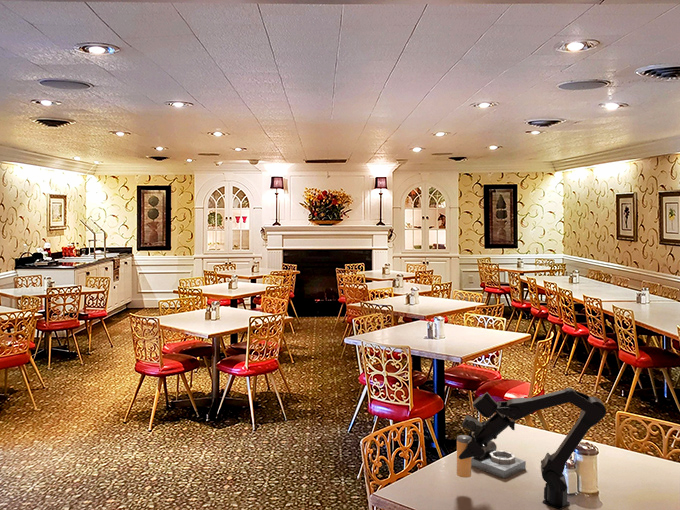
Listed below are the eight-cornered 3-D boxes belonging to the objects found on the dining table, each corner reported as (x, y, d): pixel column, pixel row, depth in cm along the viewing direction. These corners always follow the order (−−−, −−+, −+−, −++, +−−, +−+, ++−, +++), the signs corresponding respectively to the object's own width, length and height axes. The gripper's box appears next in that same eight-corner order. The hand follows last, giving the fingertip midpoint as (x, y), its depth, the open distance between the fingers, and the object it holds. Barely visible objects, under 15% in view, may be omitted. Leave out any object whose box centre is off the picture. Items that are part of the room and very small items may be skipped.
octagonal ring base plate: (525, 468, 219) (525, 450, 218) (504, 478, 210) (504, 459, 209) (490, 456, 231) (490, 439, 231) (468, 465, 222) (468, 447, 222)
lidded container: (474, 474, 199) (474, 438, 198) (465, 478, 196) (465, 441, 195) (462, 470, 203) (463, 434, 202) (453, 474, 199) (454, 437, 199)
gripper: (477, 401, 206) (446, 428, 210) (474, 417, 188) (440, 446, 192) (500, 425, 204) (468, 452, 208) (499, 443, 186) (464, 473, 190)
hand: (460, 455), depth 199 cm, fingers closed on lidded container, 5 cm apart
